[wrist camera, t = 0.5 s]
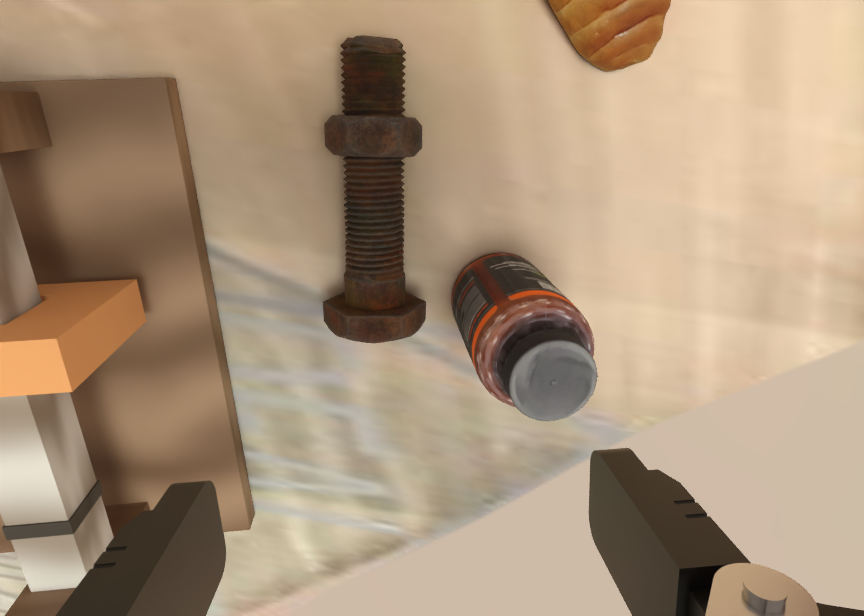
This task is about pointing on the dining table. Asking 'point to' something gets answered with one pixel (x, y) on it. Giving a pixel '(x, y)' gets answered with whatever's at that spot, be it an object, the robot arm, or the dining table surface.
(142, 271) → the pipe stand
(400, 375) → the dining table surface
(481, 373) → the supplement bottle
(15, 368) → the collar
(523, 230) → the dining table surface
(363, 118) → the bolt
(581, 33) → the pastry
